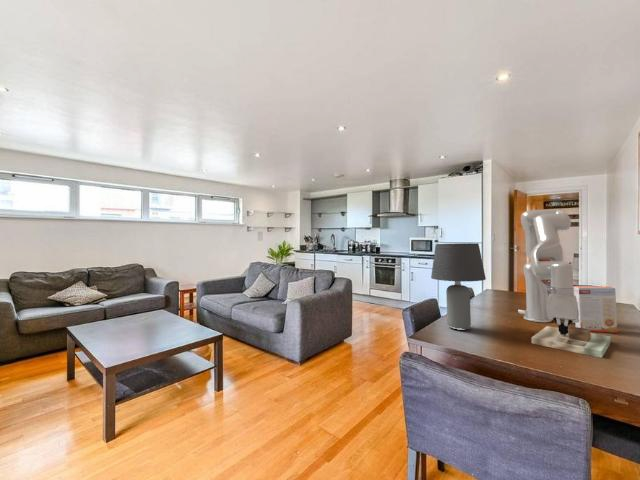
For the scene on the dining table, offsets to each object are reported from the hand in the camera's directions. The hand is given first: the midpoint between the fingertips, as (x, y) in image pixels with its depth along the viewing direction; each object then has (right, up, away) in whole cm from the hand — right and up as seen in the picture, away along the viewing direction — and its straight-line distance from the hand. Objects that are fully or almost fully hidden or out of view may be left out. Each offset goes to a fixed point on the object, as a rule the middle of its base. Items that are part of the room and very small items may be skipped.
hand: (563, 334), depth 128 cm
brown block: (+3, -1, -4) cm, 5 cm away
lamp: (-34, -5, +23) cm, 42 cm away
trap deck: (+2, -3, -2) cm, 4 cm away
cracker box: (+27, -3, +14) cm, 30 cm away
